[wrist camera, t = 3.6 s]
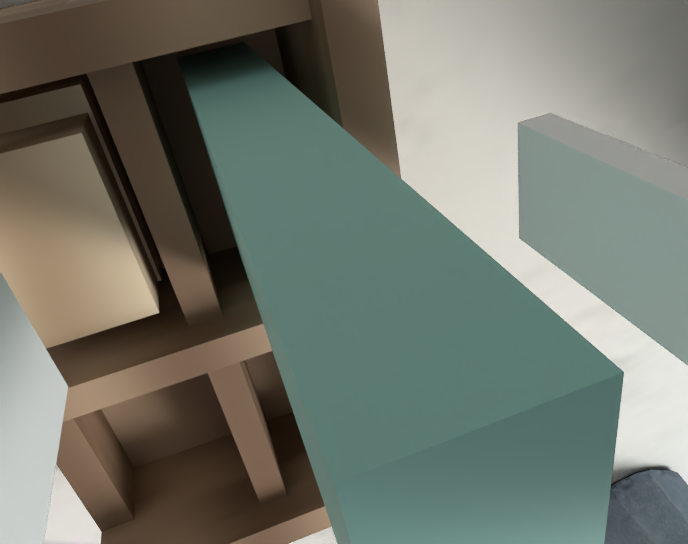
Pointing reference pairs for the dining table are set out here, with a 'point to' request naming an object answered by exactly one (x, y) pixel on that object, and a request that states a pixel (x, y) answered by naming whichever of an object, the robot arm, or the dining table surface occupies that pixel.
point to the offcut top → (69, 234)
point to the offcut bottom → (65, 102)
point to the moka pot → (648, 509)
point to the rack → (192, 266)
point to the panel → (402, 335)
